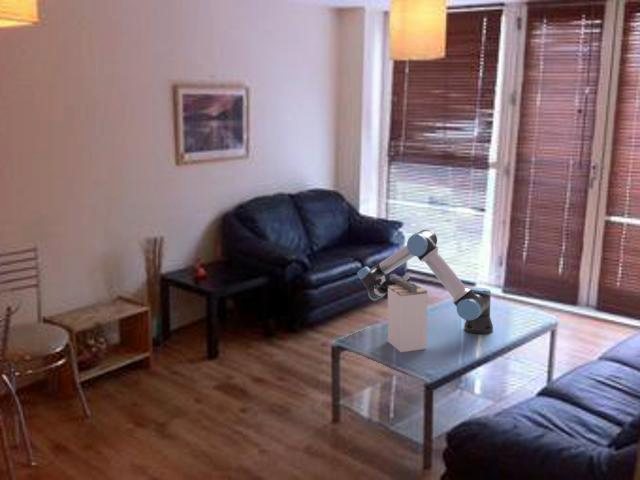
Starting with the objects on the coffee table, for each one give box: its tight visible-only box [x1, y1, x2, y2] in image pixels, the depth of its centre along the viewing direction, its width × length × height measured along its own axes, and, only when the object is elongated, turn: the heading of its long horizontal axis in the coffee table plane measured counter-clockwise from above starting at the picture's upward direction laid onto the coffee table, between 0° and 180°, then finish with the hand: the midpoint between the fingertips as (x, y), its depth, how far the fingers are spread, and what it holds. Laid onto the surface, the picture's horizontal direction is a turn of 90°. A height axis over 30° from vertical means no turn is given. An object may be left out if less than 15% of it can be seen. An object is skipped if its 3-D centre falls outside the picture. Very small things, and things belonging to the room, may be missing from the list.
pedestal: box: [387, 282, 428, 353], centre depth 323 cm, size 16×14×30 cm
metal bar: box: [389, 273, 418, 293], centre depth 324 cm, size 26×3×3 cm, turn 17°
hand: (396, 276), depth 331 cm, fingers open, 13 cm apart
